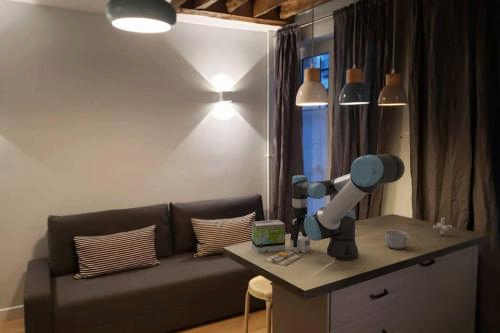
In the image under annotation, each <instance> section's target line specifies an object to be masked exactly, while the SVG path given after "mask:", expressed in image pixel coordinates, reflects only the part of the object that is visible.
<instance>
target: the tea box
mask: <svg viewBox="0 0 500 333" xmlns="http://www.w3.org/2000/svg"><path fill="white" fill-rule="evenodd" d="M251 249H252V250H254V251H255V252H256V253H257V254H260V253H269V252H271V253H273V252H282V251H286V223H284V222H283V221H281V219H271V220H257V221H256V220H255V221H251Z"/></svg>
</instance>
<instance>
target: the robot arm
mask: <svg viewBox="0 0 500 333" xmlns="http://www.w3.org/2000/svg"><path fill="white" fill-rule="evenodd" d="M350 169H351V170H350V171H349V173H347V174H344V175H341V176H339V177H335V178H332V179H328V180H319V181H318V180H317V181H312V180H311V181H309V180H308V176H307V175H303V174H302V175H300V174H299V175H298V174H297V175H293V176H292V178H291V179H292V180H291V195H292V196H291V197H292V199H291V202H292V204H291V205H292V208H291V211H292V212H291V213H292V215H293V216H294V217H293V219H291V220H290V227H291V228H290V238H291V240H293V250H292V252H294V253H300V251H299V241H298V236H300V231H301V236H302V237H308V238H310V241H311V240H312V241H313V242H314V241H315V242H317V241H319V242H320V241H321V240H326V239H329V242H328V245H327V247H326V255H328V256H329V257H331V258H334V260H336V261H337V260H338V261H353V260H356V259H358V258H359V255H360V254H359V253H360V251H359V249H358V246H357V242H356V220H357V219H356V213H355V211H354V209H353V208H354V207H355V206H356V205H357V204H358V203H359V202H360V201H361V200H362V199H363V198H364V197H365V196H366V195H367V194H373V193H374V192H375V191H376V190H378V188H380V186H381V185H385V184H391V183H395V182H398V181H399V180H401V179H402V178H403V176H404V174H405V172H406V171H405V170H406V166H405V163H404V161H403V160H402V158H400V156H398V155H397V154H393V153H383V154H366V155H362V156H359V157H357V158H356V159H355V160H354V161H353V162H352V164H351V167H350ZM328 196H334V197H333V198H332V199H331V201H329V202H328V204H327V205H326V206H323V207H321V208H319V209H318V210H317V211H316V212H315V213H314V214H312V215H311V214H309V215H308V198H311V199H314V200H321V199H323V198H324V197H328ZM352 209H353V210H352Z"/></svg>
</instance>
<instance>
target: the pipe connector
mask: <svg viewBox="0 0 500 333" xmlns="http://www.w3.org/2000/svg"><path fill="white" fill-rule="evenodd" d="M445 220H446V219H445V217H441V218H440V222H437V223H436V224H435V225H434V224H433V225H432V229H440V234H444V235H445V231H448V230H449V229H452V228H453V225H452V224H445Z"/></svg>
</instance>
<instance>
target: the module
mask: <svg viewBox="0 0 500 333" xmlns="http://www.w3.org/2000/svg"><path fill="white" fill-rule="evenodd" d="M289 240H290V241H289V243H290V244H289V245H290V246H289V249H290V250H289V251H293V240H291V237H289ZM298 241H299V252H301V253H306V252H309V251H310V250H311V239H310V238H309V237H308V236H307V237H302V235H301V236H300V235H299V236H298Z"/></svg>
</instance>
